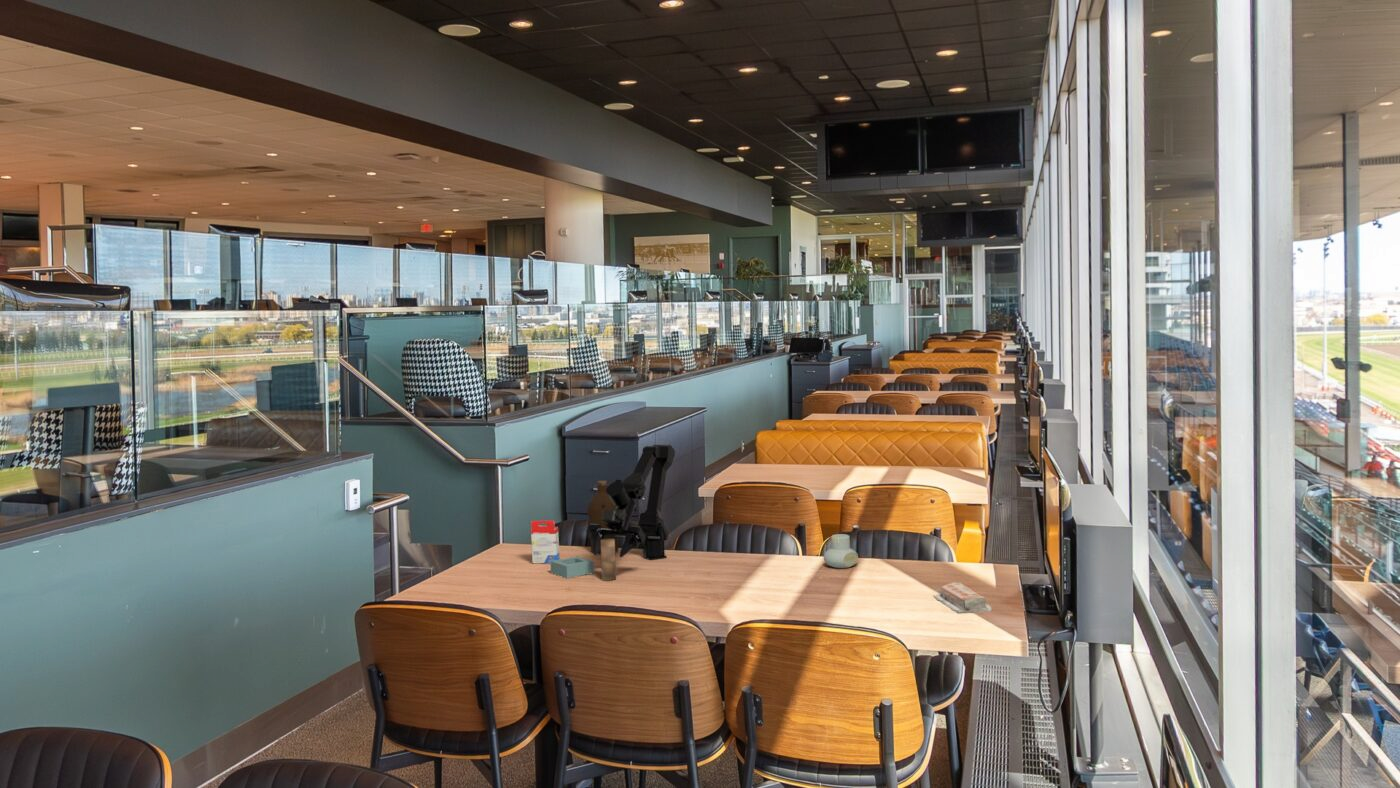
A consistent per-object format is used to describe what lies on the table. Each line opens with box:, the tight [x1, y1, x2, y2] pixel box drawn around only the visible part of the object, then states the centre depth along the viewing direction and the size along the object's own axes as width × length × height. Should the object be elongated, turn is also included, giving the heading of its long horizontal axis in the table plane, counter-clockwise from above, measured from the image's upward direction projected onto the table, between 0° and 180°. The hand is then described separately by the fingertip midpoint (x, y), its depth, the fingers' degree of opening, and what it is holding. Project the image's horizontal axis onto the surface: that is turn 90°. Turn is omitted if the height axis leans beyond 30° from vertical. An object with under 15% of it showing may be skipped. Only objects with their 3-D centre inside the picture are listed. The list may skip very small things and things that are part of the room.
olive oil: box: [587, 479, 619, 555], centre depth 375 cm, size 11×11×25 cm
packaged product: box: [932, 581, 993, 615], centre depth 293 cm, size 18×5×10 cm
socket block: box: [550, 556, 595, 579], centre depth 343 cm, size 10×10×4 cm
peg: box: [600, 539, 617, 582], centre depth 333 cm, size 4×4×12 cm
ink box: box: [530, 520, 561, 564], centre depth 360 cm, size 8×5×15 cm, turn 84°
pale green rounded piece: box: [823, 533, 859, 569], centre depth 342 cm, size 11×8×10 cm
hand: (607, 555), depth 332 cm, fingers open, 9 cm apart
